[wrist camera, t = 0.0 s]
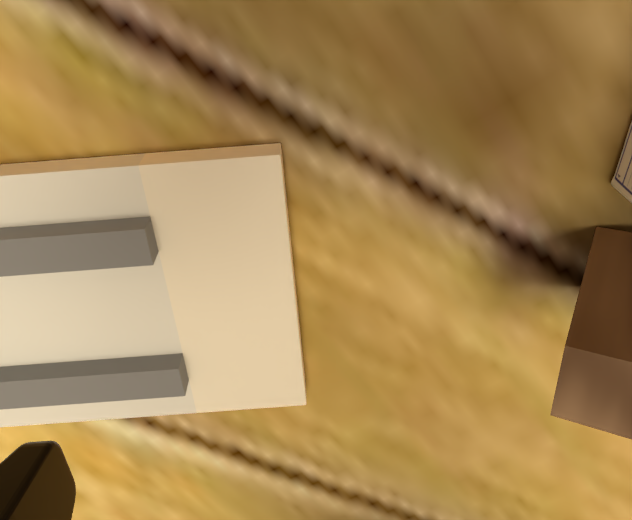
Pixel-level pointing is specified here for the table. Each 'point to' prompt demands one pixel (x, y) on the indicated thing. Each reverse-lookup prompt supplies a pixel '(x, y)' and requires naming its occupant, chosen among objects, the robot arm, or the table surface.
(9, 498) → the robot arm
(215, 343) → the rail board
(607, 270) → the panel
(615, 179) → the medicine box
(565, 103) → the table surface
